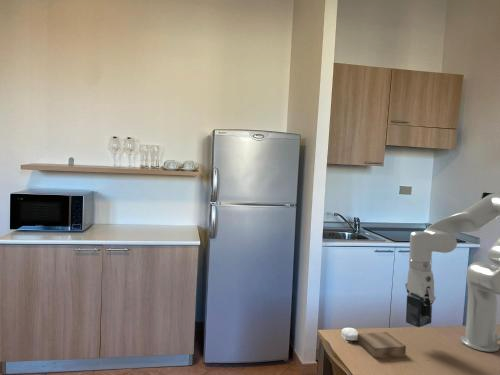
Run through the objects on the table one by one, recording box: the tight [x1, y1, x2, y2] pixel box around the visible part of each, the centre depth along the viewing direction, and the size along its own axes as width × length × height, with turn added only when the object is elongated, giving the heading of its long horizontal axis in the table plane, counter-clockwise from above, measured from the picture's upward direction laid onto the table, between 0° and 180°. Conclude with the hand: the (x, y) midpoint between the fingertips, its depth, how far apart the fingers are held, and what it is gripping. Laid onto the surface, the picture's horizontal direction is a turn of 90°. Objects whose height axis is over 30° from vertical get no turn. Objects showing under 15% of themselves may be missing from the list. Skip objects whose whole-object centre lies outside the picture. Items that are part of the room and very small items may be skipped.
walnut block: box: [356, 331, 407, 360], centre depth 138 cm, size 12×12×4 cm
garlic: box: [340, 327, 360, 343], centre depth 146 cm, size 8×7×4 cm
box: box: [405, 294, 433, 328], centre depth 141 cm, size 8×6×11 cm
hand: (418, 311), depth 141 cm, fingers closed on box, 7 cm apart
